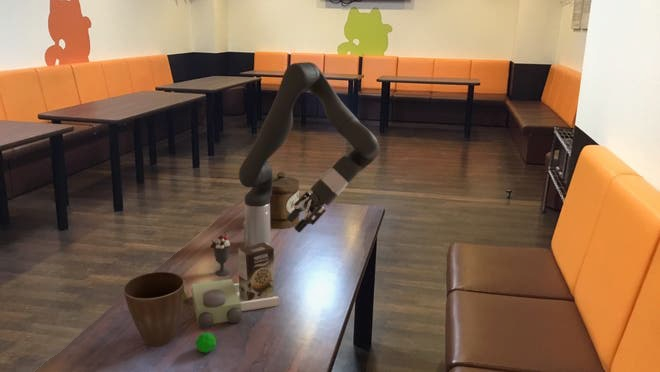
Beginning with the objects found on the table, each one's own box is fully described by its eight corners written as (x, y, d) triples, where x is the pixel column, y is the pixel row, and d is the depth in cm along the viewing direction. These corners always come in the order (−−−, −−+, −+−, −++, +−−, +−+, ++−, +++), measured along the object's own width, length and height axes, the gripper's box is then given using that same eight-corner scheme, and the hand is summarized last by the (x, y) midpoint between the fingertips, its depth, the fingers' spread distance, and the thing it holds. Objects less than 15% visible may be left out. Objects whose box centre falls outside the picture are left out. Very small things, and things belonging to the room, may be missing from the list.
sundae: (236, 270, 184) (234, 229, 179) (224, 278, 178) (222, 236, 174) (220, 266, 186) (218, 226, 182) (208, 274, 181) (206, 232, 176)
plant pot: (155, 362, 134) (150, 304, 129) (116, 343, 141) (110, 288, 137) (199, 334, 146) (196, 280, 141) (161, 318, 153) (157, 267, 149)
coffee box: (248, 305, 161) (247, 255, 156) (238, 296, 166) (237, 247, 161) (275, 296, 166) (274, 248, 161) (264, 288, 171) (263, 241, 166)
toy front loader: (192, 296, 166) (190, 274, 164) (268, 285, 174) (268, 264, 171) (198, 329, 148) (197, 305, 146) (284, 315, 156) (283, 292, 154)
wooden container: (297, 228, 222) (297, 177, 216) (261, 228, 222) (260, 176, 216) (300, 216, 236) (300, 167, 230) (266, 215, 236) (265, 167, 230)
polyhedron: (192, 353, 138) (191, 337, 136) (203, 343, 142) (202, 327, 141) (209, 358, 136) (208, 341, 135) (220, 347, 140) (219, 331, 139)
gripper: (314, 172, 168) (278, 209, 168) (329, 185, 155) (290, 226, 155) (329, 187, 171) (294, 224, 171) (345, 201, 159) (307, 241, 158)
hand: (292, 225), depth 163 cm, fingers open, 8 cm apart
